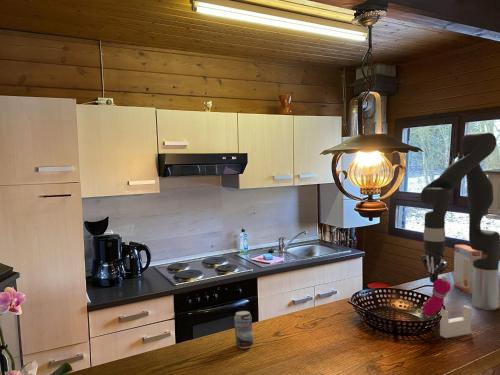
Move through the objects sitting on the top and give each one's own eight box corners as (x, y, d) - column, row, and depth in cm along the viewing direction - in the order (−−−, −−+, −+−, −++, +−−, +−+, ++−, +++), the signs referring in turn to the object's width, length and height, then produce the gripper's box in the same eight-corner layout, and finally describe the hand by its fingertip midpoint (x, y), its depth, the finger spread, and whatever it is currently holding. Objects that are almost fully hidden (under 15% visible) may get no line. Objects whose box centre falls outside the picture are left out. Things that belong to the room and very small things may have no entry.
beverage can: (240, 352, 129) (239, 318, 128) (231, 343, 135) (230, 311, 135) (256, 348, 132) (256, 314, 131) (247, 339, 138) (246, 307, 138)
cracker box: (481, 294, 178) (482, 250, 176) (468, 294, 178) (469, 251, 176) (465, 284, 192) (466, 244, 190) (453, 285, 192) (453, 244, 190)
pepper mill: (419, 319, 150) (433, 278, 141) (421, 308, 156) (435, 268, 147) (439, 327, 147) (455, 286, 138) (440, 315, 153) (455, 275, 144)
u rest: (465, 330, 142) (465, 305, 141) (470, 333, 139) (471, 307, 139) (440, 335, 139) (440, 309, 138) (445, 338, 136) (445, 311, 136)
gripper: (455, 241, 142) (454, 286, 143) (430, 234, 155) (429, 276, 156) (438, 242, 140) (438, 288, 141) (414, 236, 153) (413, 278, 154)
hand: (433, 282), depth 148 cm, fingers closed
